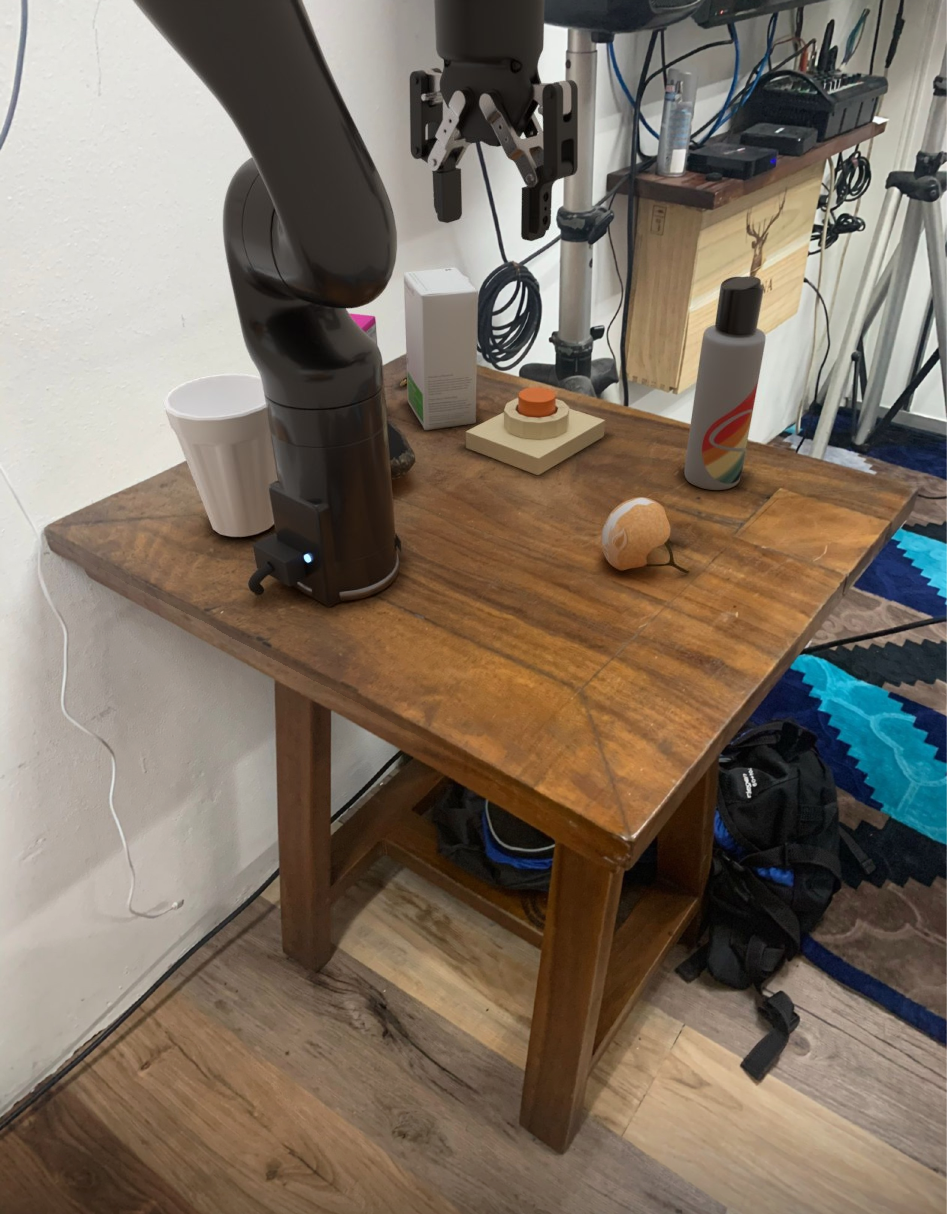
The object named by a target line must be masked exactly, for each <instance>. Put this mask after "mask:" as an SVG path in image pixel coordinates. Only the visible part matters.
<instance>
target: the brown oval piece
mask: <svg viewBox="0 0 947 1214" xmlns="http://www.w3.org/2000/svg"><path fill="white" fill-rule="evenodd" d="M670 535H671V524H670V522H669V520H668V517H667V513H666V511H665V507H663V505H662V504H661V503H659V502H657V501H656V500H654V499H652V498H649V497H645V496H639V497H638V496H637V497H632V498H629V499H626V500H625V501H623V502H621V503H620V504H619V505H616V506H615V508H614V509H613V510H612V511H611V512H610V514H609V515H608V517H607V519H606V521H605V522H604V526H603V528H602V532H601V550H602V553H603V556H604V558H605V559H606V561H607V562H608V563H609V565H610V566H612V567H613V568H615V569H616V570H618V571H625V570H629V569H635V568H642V567H650V568H651V567H652V568H654V567H655V568H656V567H658V568H659V567H672V568H675V569H676V570H678V571H680V572H682V573H685V574H686V575H688V574H689V573H690V570H687V569H685V568H683V567H682V566H680V565H678V564H677V563H676V562H675V559H674V554H673V553H674V552H673V550H672V547H673V546H674V545H675V542H673V541H672V540H670V539H669V537H670ZM662 545H664V546H665V547H666V549H667V551H668V555H669V560H668V562H666V563H647V556H648V555H649V554H650V552H651V551H652V550H653V549H655V548H657V547H659V546H662Z"/></svg>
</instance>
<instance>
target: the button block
mask: <svg viewBox="0 0 947 1214" xmlns="http://www.w3.org/2000/svg"><path fill="white" fill-rule="evenodd" d="M605 427H606V419H603V418H600V417H597V416H593V415H592V414H591V415H590V414H587V413H584V412H582V411H578V410H575V409H572V408H570V406H569V405H568V404H566V403H565V401H563V400H562V399H558V398H556V403H555V414H553V415H551V416H548V417H541V418H535V417H526V416H523V415H521V414H519V413H518V397H516V398H514V399H512V400H509V401H508V402H507V403H505V407H504V409H503V412H501V413H499V414H498V415H496V416H495V415H494V417H492V418H490V419H488V420H485V421H484V422H482V423H480V424H478V425H476V426H473V427H472V428H470V429H468V430H466V431H465V448H466V449H467V450H470V451H473V452H475V453H478V454H481V455H484V456H486V457H489V458H492V459H493V460H496V461H499V462H501V463H504V464H507V465H510V466H512V467H515V468H517V469H520V470H523V471H526V472H527V473H530V474H533V475H536V476H540V475H542V474H543V473H544V472H546V471H548V470H550V469H552V468H553V467H555V466H558V464H560V463H562V462H563V461H565V460H566V459H569V458H570V457H572V456H574V455H575V454H577V453H578V452H580V451H582V450H584V449H586V448H587V447H589V446H591V445H592V444H594V443H596V442H597V441H599V440H601V439H602V438H604V437H605V429H606V428H605Z"/></svg>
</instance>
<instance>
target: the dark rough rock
mask: <svg viewBox="0 0 947 1214" xmlns="http://www.w3.org/2000/svg"><path fill="white" fill-rule="evenodd" d="M387 427H388V440H389V454H390V467H391V480H392V482H393V481H395V480H398V479H401V477H402V476H404V475H405V474H407V473H408V472H409V471H410V470H411V468H412V467H413V466H414V464H415V463H416V454H415V452H414V450H413V448H412V446H411V444H410V443H409V441H408V440H407V437H406V435H405V434H404V433H403V432H402V431H401V429H399V427H398V426H397V424H396V423H394V422H392V421H390V420H388V419H387Z"/></svg>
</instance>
